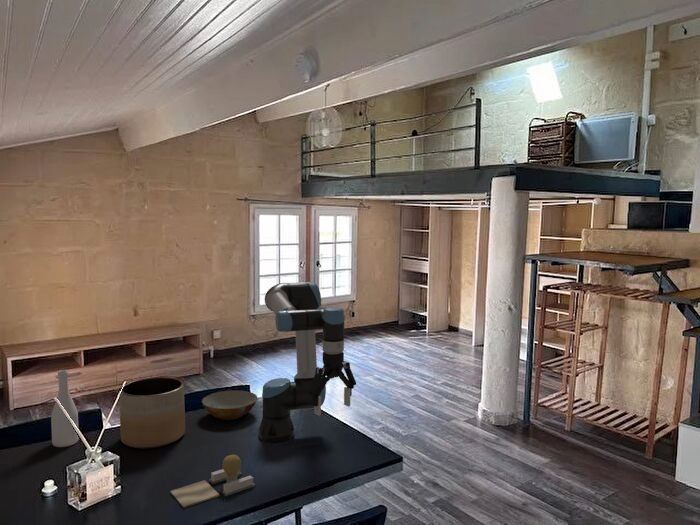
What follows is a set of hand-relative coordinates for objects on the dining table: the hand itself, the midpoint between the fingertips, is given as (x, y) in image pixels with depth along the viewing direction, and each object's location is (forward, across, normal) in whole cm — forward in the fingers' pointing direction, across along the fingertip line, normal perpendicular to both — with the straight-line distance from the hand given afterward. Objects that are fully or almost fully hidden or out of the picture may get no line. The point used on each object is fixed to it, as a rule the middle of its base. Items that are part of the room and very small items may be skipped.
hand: (332, 409), depth 187 cm
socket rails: (+24, -31, +17) cm, 43 cm away
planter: (+24, -38, +72) cm, 85 cm away
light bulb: (+24, -31, +17) cm, 43 cm away
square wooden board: (+24, -44, +18) cm, 53 cm away
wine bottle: (+24, -67, +90) cm, 114 cm away
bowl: (+25, -2, +74) cm, 78 cm away
